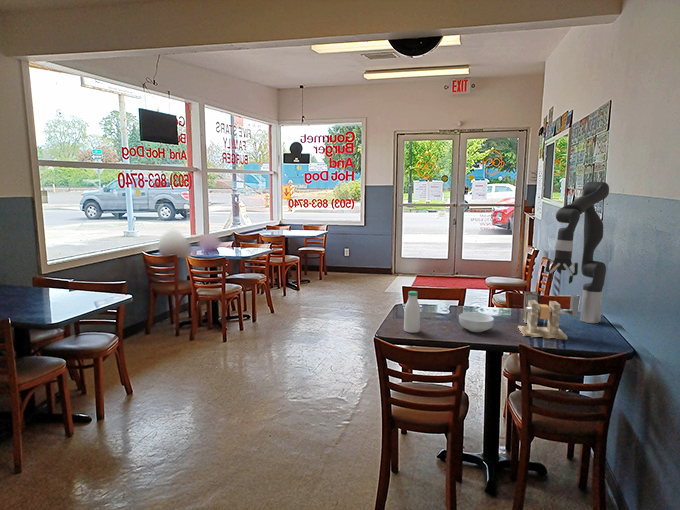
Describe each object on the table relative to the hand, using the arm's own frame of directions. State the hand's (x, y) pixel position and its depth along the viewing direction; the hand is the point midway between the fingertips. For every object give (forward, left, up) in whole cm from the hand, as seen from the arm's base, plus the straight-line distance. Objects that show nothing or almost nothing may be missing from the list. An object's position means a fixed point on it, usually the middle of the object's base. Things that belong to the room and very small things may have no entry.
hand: (560, 282), depth 242 cm
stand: (+8, +4, -26) cm, 27 cm away
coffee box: (+9, -16, -26) cm, 32 cm away
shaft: (+4, +4, -16) cm, 17 cm away
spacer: (+8, +4, -18) cm, 20 cm away
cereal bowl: (+40, +4, -26) cm, 48 cm away
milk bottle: (+72, +12, -26) cm, 77 cm away
